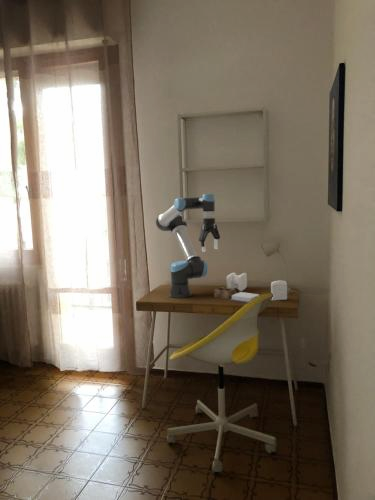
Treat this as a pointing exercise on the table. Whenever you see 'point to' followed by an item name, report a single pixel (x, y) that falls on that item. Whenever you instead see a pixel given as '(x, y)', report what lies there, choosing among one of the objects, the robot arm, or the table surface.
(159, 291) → the table surface
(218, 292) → the walnut box
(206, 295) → the table surface
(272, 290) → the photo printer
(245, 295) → the cover plate
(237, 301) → the rubber mat
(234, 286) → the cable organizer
